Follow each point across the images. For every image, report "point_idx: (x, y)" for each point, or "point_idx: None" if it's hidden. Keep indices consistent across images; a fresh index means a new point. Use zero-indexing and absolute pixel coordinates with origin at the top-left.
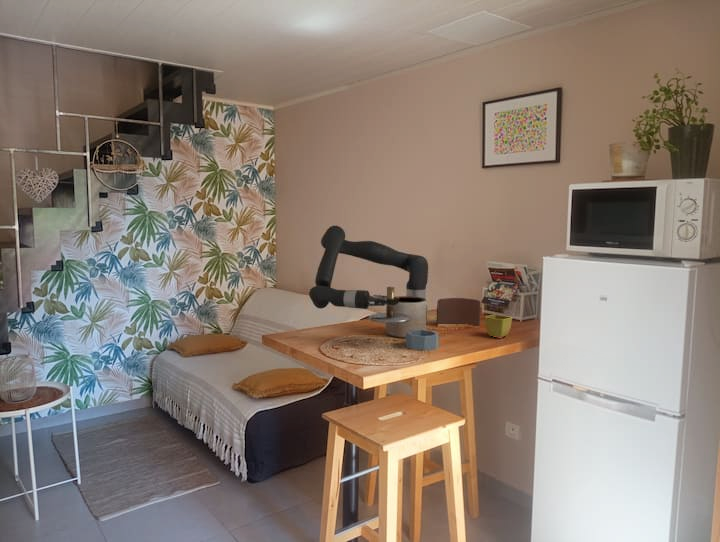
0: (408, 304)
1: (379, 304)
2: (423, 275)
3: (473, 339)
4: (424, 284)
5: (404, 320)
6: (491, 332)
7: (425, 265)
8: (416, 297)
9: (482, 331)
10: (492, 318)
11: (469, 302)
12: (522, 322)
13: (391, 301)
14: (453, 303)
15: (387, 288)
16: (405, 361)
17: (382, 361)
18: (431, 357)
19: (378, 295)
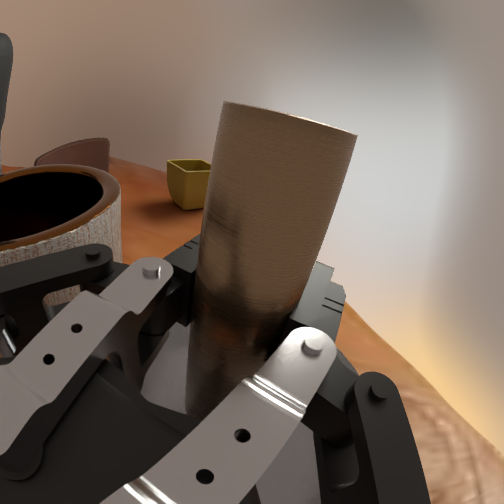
0: (105, 221)
1: (357, 472)
2: (1, 95)
3: (194, 233)
4: (1, 124)
5: (338, 350)
6: (193, 201)
7: (10, 61)
8: (25, 170)
9: (133, 201)
10: (203, 171)
11: (93, 146)
12: (111, 163)
13: (338, 315)
14: (66, 158)
15: (329, 147)
16: (437, 430)
17: (451, 489)
18: (384, 365)
19: (23, 353)
